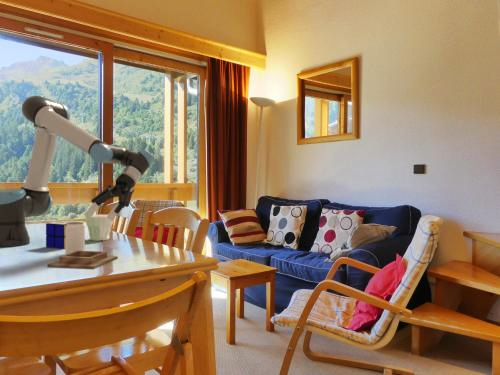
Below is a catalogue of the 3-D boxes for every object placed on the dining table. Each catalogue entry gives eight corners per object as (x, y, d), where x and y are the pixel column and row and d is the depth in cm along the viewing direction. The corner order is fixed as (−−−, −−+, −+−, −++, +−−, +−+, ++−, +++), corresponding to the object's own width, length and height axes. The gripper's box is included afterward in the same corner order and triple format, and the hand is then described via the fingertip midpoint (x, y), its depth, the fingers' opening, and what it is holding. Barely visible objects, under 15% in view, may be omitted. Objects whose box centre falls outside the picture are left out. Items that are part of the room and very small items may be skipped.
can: (77, 257, 141) (77, 224, 141) (61, 256, 142) (61, 223, 142) (88, 254, 147) (88, 222, 147) (72, 253, 148) (72, 221, 148)
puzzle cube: (45, 247, 161) (45, 223, 160) (65, 243, 170) (65, 220, 170) (63, 249, 157) (63, 224, 157) (82, 245, 166) (82, 222, 166)
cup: (107, 241, 176) (107, 217, 176) (80, 241, 176) (80, 216, 176) (117, 237, 189) (117, 214, 189) (92, 237, 189) (92, 214, 189)
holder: (47, 266, 126) (47, 258, 126) (75, 256, 141) (75, 249, 141) (94, 268, 124) (94, 259, 124) (117, 258, 140) (117, 250, 139)
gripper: (154, 185, 160) (125, 226, 148) (113, 185, 173) (83, 221, 161) (144, 172, 156) (113, 213, 143) (103, 172, 169) (71, 209, 156)
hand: (97, 217), depth 152 cm, fingers open, 13 cm apart
